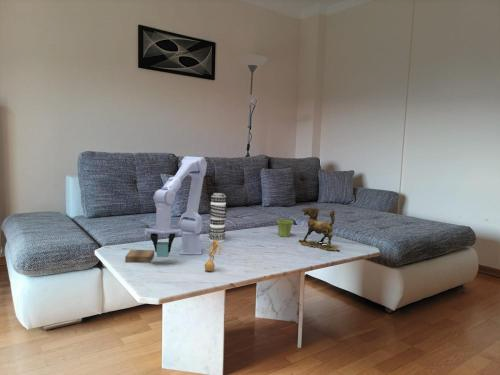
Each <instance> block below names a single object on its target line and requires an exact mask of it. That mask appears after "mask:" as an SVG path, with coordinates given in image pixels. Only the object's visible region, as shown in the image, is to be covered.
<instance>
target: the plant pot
mask: <svg viewBox="0 0 500 375" xmlns="http://www.w3.org/2000/svg"><path fill="white" fill-rule="evenodd" d="M276 222H277V228H278V230H277V231H278V237H282V238H288V237H290V235H291V229H292V226H293V224H294V221H293V220H291V219H290V220H288V219H277V220H276Z"/></svg>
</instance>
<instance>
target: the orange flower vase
mask: <svg viewBox="0 0 500 375" xmlns="http://www.w3.org/2000/svg"><path fill="white" fill-rule="evenodd" d="M211 246H212V248H211V250H210V251H209V253H208V256H209V257H210V258H209V259H208V260H207V261H206V262H205V263H204V269H205V270H206V271H208V272H212V271H213V270H214V269H215V268H216V267H215V266H216V265H215V263H214V259H215V255H216V253H218V255H219V256H220V255H221V249H222V247H221V245H220V242H217V241H213V242H212V243H210V244H209V245H208V246H207V248H206V249H205V251H207V250H208V249H209V248H210V247H211ZM218 248H219V252H217V249H218Z"/></svg>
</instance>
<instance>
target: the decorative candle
mask: <svg viewBox="0 0 500 375" xmlns="http://www.w3.org/2000/svg"><path fill="white" fill-rule="evenodd" d="M226 197H227V196H226V195H225V193H224V192H223V193H222V192H214V193H212V195H211V196H210V200H211V201H210V203H209V208H210V209H209V213H208V214H209V215H210V216H209V219H210V223H209V233H208V238H209V239H208V240H209V242H212V243H213V241H217V242H219V243H222V242H225V241H226V233H225V232H226V229H227V228H226V219H227V216H226V215H227V213H226V212H227V207H228V206H226V205H227V202H226V200H227V199H226Z"/></svg>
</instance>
